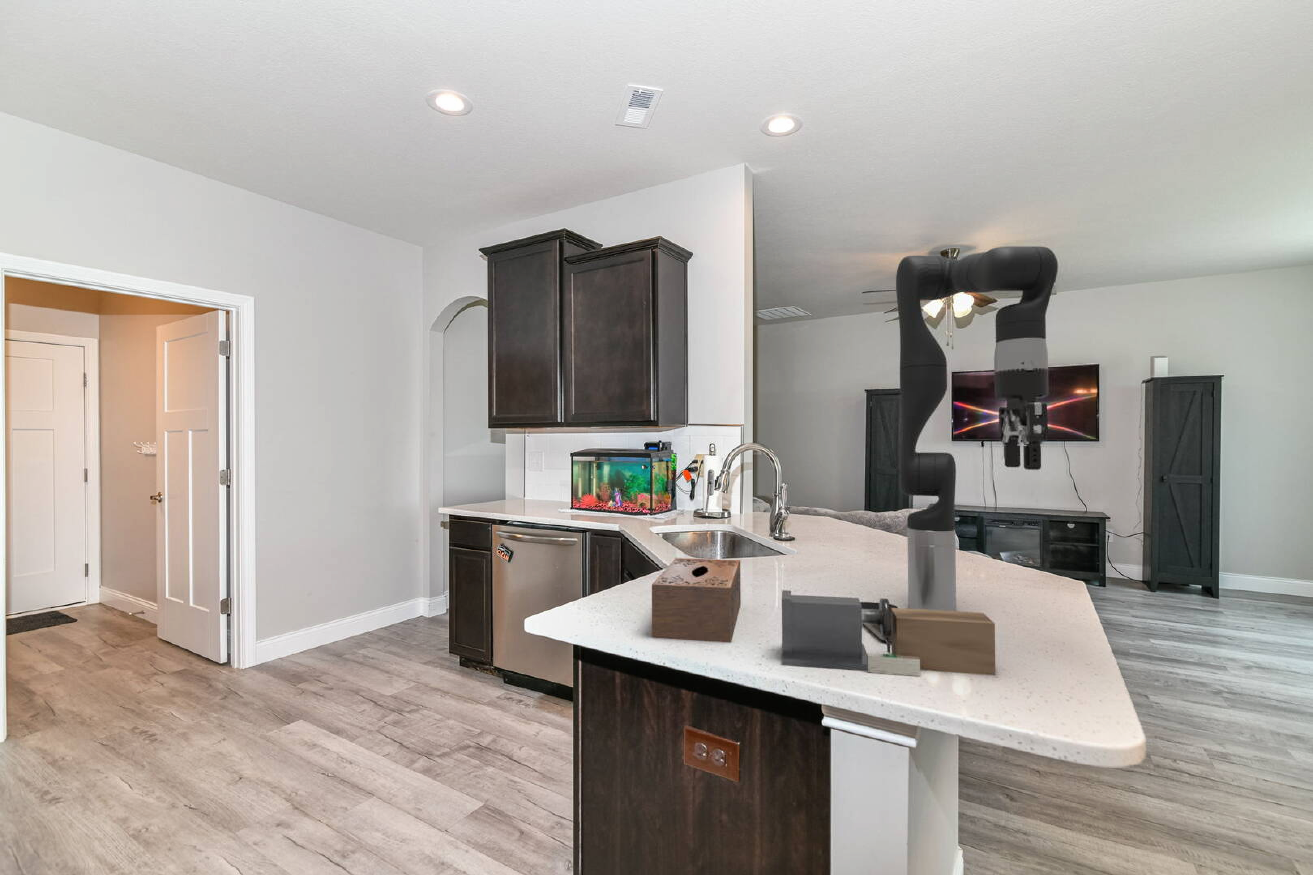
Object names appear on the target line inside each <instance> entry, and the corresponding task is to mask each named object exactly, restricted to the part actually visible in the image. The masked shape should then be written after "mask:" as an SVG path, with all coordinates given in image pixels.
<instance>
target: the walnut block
mask: <svg viewBox="0 0 1313 875" xmlns="http://www.w3.org/2000/svg"><path fill="white" fill-rule="evenodd" d="M890 643H891V654H894V655H900V656H915V657H919V659H920V671H929V672H931V671H932V672H941V673H942V672H944V673H956V674H957V673H958V674H959V673H960V674H969V675H981V676H982V675H983V676H996V623H995V622H994V621H992V620H991V618H990V617H988V616H987V615H986V613H984V612H975V611H958V610H956V611H941V610H923V609H909V608H903V607H900V608H899V607H898V608H891V641H890Z"/></svg>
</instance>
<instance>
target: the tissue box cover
mask: <svg viewBox="0 0 1313 875" xmlns="http://www.w3.org/2000/svg"><path fill="white" fill-rule="evenodd" d="M741 596H742V595H741V560H740V559H739V560H738V559H715V558H714V559H713V558H710V559H709V558H686V557H685V558H684V557H682V558H681V557H679V558H678V557H676V558H674V559H673V561H672V562H670V564H669V565H668V566H667V568H665V570H664V571H662V573H661V574H660V575H659V576H658V577H657V578H656V579H655V581H653V583H652V584H651V637H652V639H663V640H664V639H665V640H680V641H682V640H684V641H697V642H698V641H699V642H713V643H714V642H715V643H718V642H719V643H732V641H733V636H734V634H735V629H736V624H737V621H738V617H739V612H740V608H741Z"/></svg>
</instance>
